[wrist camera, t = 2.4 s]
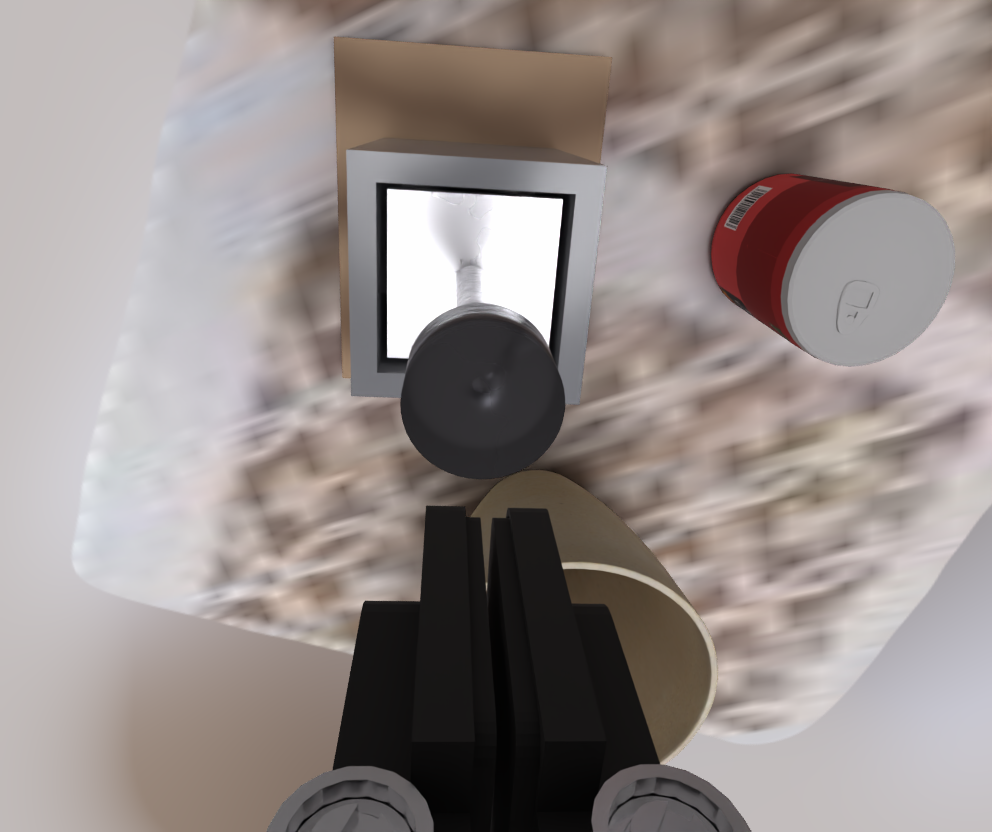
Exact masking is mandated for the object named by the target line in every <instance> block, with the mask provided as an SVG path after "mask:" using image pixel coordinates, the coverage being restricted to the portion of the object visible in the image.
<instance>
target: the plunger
mask: <svg viewBox="0 0 992 832" xmlns="http://www.w3.org/2000/svg"><path fill="white" fill-rule="evenodd" d="M562 202H563V199H562V198H560V197H550V196H533V195H516V194H499V193H482V192H466V191H449V190H432V189H415V188H398V187H389V188H388V189H387V358H408V362H407V367H406V372H405V377H404V382H403V387H402V392H401V403H400V404H401V415H402V420H403V424H404V427H405V430H406V433H407V434H408V436H409V438H410V440H411V442H412V443H413V445H414V446H415V448H416V449H417V450H418V451H419V452H420V453H421V454H422V456H423V457H425V458H426V459H427V460H428V461H429V462H431V463H432V464H434V465H435V466H437V467H438V468H440V469H442V470H444V471H446V472H448V473H451V474H454V475H457V476H460V477H465V478H472V479H492V478H499V477H503V476H507V475H510V474H513V473H515V472H518V471H520V470H522V469H524V468H526V467H527V466H529V465H530V464H532V463H533V462H535V461H536V460H537V459H538V458H539V457H541V456H542V455H543V454H544V453H545V452H546V450H547V449H548V448H549V447H550V446H551V444H552V443H553V441H554V440H555V438H556V436H557V434H558V432H559V430H560V427H561V424H562V421H563V417H564V412H565V392H564V386H563V382H562V379H561V376H560V374H559V371H558V369H557V366H556V364H555V361H554V359H553V356H552V354H551V351H550V349H549V338H550V328H551V317H552V307H553V296H554V286H555V275H556V265H557V254H558V244H559V234H560V223H561V213H562Z"/></svg>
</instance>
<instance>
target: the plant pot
mask: <svg viewBox="0 0 992 832" xmlns="http://www.w3.org/2000/svg"><path fill="white" fill-rule="evenodd" d="M508 508H546V509H547V510H548V512H549V516H550V520H551V524H552V528H553V532H554V536H555V540H556V543H557V547H558V551H559V555H560V559H561V563H562V567H563V571H564V575H565V579H566V583H567V587H568V591H569V595H570V599H571V603H580V604H605V605H606V606H607V607H608V608H609V611H610V613H611V615H612V618H613V621H614V624H615V627H616V631H617V634H618V637H619V640H620V643H621V646H622V649H623V652H624V655H625V658H626V661H627V664H628V667H629V670H630V673H631V676H632V679H633V682H634V685H635V688H636V691H637V694H638V698H639V701H640V704H641V707H642V710H643V713H644V716H645V719H646V722H647V725H648V728H649V731H650V734H651V737H652V740H653V743H654V746H655V749H656V752H657V755H658V758H659V761H660V764H663V765H665V764H666V763H667V762H669V761H670V760H671V759H673V758H674V757H675V756H676V755H678V754H679V753H680V752H681V751H682V750H683V749H684V748H685V747H686V746H687V744H688V743H689V742H690V741H691V740H692V739H693V737H694V736H695V735H696V733H697V732H698V730H699V729H700V727H701V726H702V724H703V723H704V721H705V719H706V717H707V715H708V713H709V711H710V709H711V706H712V703H713V700H714V697H715V693H716V686H717V680H718V665H717V656H716V651H715V647H714V644H713V641H712V638H711V636H710V633H709V631H708V629H707V627H706V625H705V624H704V622H703V621H702V619H701V618H700V616H699V615H698V613H697V612H696V611H695V609H694V608H693V606H692V605H691V604H690V602H689V601H688V599H687V598H686V596H685V595H684V594H683V592H682V591H681V590H680V588H679V587H678V586H677V584H676V583H675V581H674V580H673V579H672V577H671V576H670V575H669V573H668V572H667V571H666V569H665V568H664V567H663V565H662V564H661V563H660V562H659V560H658V559H657V558H656V557H655V555H654V554H653V553H652V552H651V551H650V549H649V548H648V547H647V546H646V545H645V544H644V543H643V542H642V540H641V539H640V538H639V537H638V536H637V535H636V534H635V533H634V532H633V531H632V530H631V529H630V528H629V527H628V526H627V525H626V524H625V523H624V522H623V521H622V520H621V519H620V518H619V517H618V516H617V515H616V514H615V513H614V512H613V511H611V510H610V509H609V508H608V507H607V506H606V505H605V504H603V503H602V502H601V501H600V500H598V499H597V498H596V497H594V496H593V495H592V494H590V493H589V492H588V491H586V490H585V489H584V488H582V487H580V486H579V485H577V484H576V483H574V482H573V481H571V480H569V479H567V478H566V477H564V476H562V475H560V474H557V473H554V472H550V471H544V470H528V471H522V472H518V473H515V474H513V475H511V476H508V477H506V478H505V479H503V480H501V481H500V482H499V483H498V484H496V485H495V486H494V487H493V488H492V489H491V490H490V492H489V493H488V494H487V495H486V496H485V497H484V499H483V500H482V501H481V502H480V504H479V505H478V506H477V508H476V509H475V510H474V512H473V513H472V515H471V516H470V517H480V518H481V529H482V542H483V555H484V568H485V581H486V593H487V581H488V566H489V551H490V537H491V523H492V518H506V513H507V509H508Z"/></svg>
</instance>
